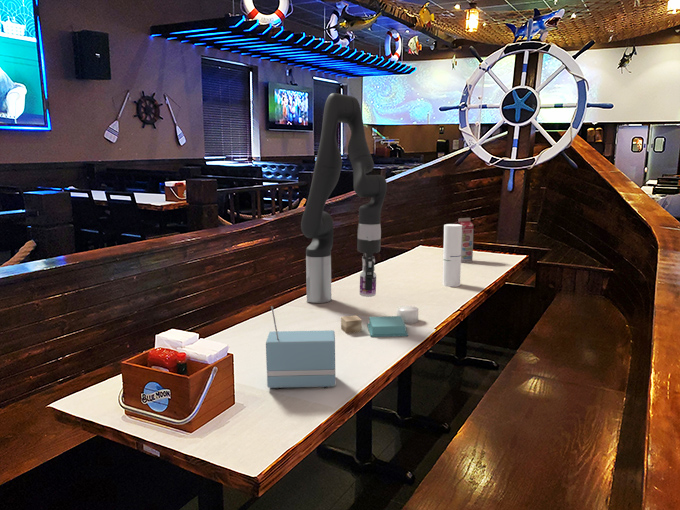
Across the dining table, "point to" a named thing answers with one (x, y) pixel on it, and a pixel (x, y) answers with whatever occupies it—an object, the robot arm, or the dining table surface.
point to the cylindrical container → (452, 255)
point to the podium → (386, 326)
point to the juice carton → (466, 239)
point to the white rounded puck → (408, 314)
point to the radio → (300, 358)
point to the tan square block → (351, 324)
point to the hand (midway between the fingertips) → (367, 287)
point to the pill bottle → (362, 285)
